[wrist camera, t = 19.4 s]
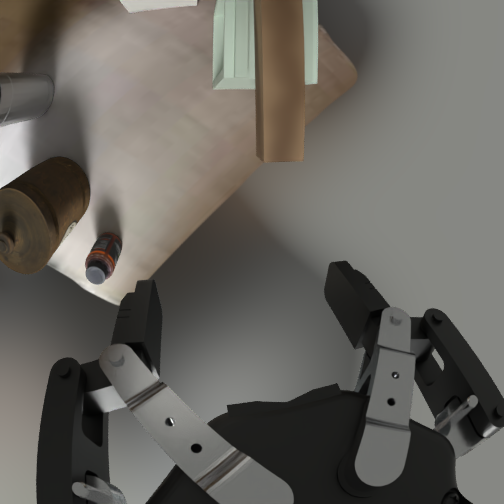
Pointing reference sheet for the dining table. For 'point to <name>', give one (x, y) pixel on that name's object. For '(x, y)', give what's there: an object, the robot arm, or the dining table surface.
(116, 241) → the supplement bottle
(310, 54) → the rest stand
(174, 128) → the dining table surface
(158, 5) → the shelf stand
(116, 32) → the dining table surface
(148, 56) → the dining table surface
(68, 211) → the wooden container
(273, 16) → the hook bar
